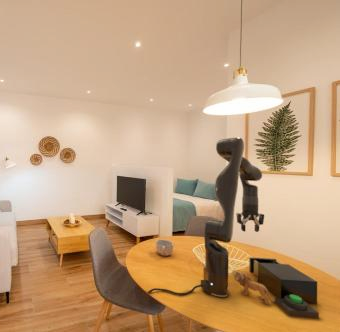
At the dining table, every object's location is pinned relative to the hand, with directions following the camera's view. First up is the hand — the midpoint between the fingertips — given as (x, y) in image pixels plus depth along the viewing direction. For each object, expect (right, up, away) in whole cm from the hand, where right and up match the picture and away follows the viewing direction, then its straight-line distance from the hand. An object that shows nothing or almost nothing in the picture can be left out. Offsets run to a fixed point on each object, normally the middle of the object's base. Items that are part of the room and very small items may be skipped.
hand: (250, 231), depth 124 cm
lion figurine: (-21, -20, -30) cm, 42 cm away
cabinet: (-4, -20, -26) cm, 33 cm away
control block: (-11, -20, -39) cm, 45 cm away
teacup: (-45, -20, +14) cm, 52 cm away
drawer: (-2, -19, -16) cm, 25 cm away
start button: (-11, -17, -39) cm, 43 cm away
